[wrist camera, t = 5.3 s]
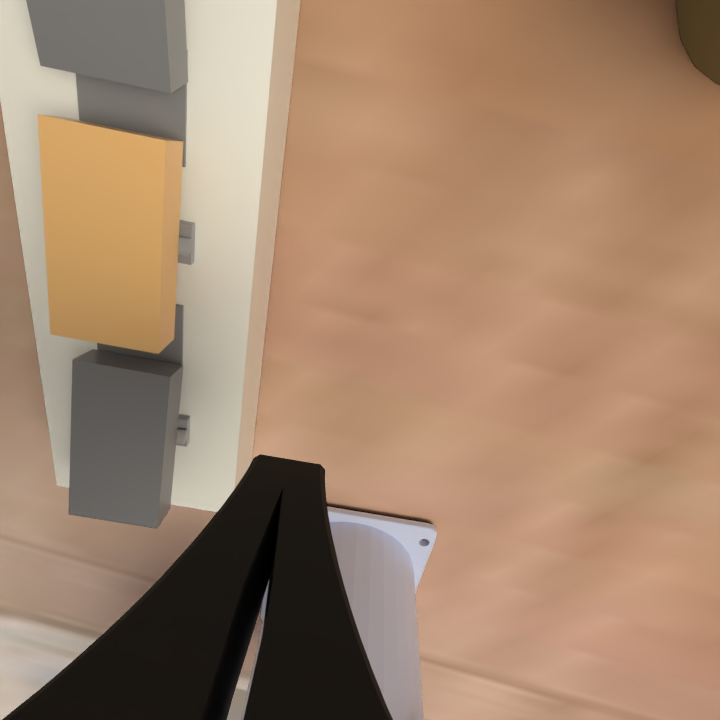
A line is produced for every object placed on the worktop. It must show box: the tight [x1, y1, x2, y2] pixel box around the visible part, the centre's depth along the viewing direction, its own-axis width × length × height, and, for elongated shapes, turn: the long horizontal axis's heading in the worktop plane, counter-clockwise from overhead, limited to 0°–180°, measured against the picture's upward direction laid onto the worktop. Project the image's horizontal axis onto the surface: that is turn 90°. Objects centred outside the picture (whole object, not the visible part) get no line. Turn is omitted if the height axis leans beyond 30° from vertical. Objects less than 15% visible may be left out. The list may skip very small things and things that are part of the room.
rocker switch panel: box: [0, 0, 301, 512], centre depth 14 cm, size 28×7×4 cm, turn 169°
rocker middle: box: [38, 114, 183, 354], centre depth 13 cm, size 6×3×1 cm, turn 169°
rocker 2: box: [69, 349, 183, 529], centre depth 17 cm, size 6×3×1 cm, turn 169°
